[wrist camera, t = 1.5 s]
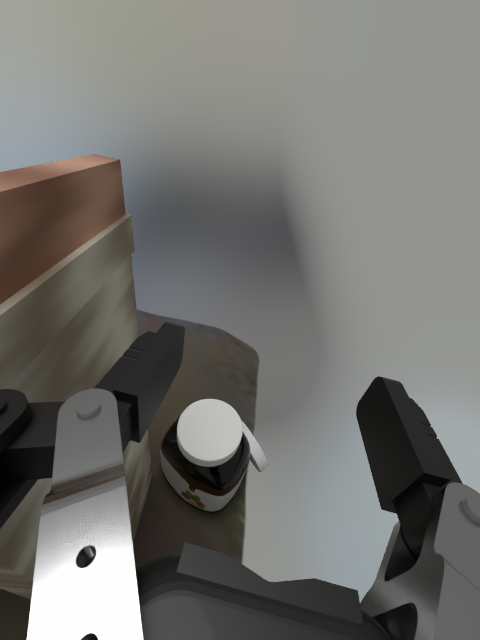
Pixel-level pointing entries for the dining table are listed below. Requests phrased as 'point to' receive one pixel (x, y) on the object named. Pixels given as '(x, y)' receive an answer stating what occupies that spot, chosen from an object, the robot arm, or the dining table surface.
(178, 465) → the spread jar
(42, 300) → the wooden open box
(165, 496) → the dining table surface
